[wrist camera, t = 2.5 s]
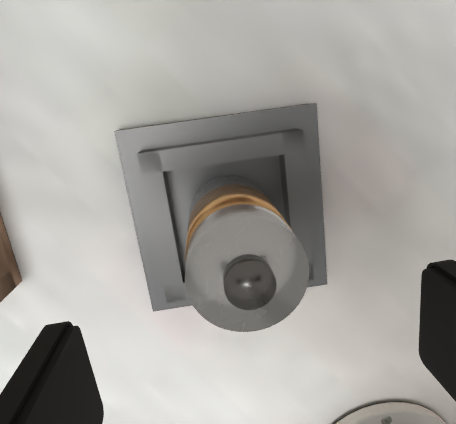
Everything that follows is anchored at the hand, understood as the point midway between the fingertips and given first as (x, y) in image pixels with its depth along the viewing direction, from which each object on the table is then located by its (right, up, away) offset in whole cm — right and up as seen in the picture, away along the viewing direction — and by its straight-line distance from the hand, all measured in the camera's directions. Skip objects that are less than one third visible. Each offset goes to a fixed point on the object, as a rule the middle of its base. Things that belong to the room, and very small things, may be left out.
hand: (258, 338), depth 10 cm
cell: (-1, +3, +13) cm, 14 cm away
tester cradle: (-1, +3, +14) cm, 15 cm away
